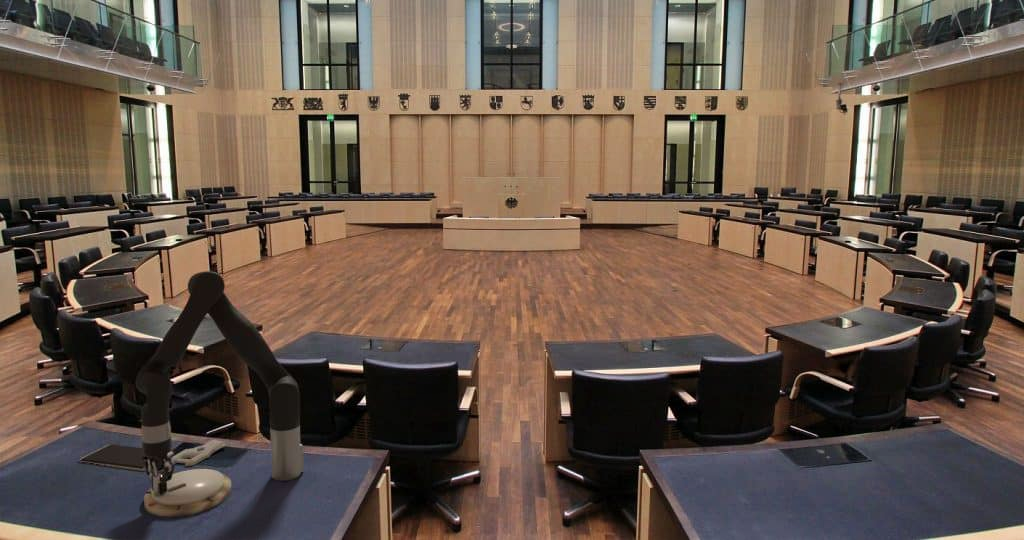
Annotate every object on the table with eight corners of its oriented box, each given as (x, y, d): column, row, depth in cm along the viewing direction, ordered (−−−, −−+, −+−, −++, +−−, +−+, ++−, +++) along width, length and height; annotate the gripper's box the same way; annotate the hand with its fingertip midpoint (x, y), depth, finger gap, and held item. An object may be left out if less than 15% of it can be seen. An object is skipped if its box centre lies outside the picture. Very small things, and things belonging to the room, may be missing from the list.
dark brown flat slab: (110, 447, 227) (109, 443, 227) (174, 455, 222) (174, 451, 221) (78, 463, 214) (77, 459, 214) (145, 472, 209) (145, 467, 208)
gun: (206, 434, 231) (228, 439, 227) (207, 443, 231) (229, 448, 228) (165, 457, 214) (188, 462, 211) (166, 466, 214) (189, 472, 211)
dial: (205, 467, 207) (204, 446, 206) (236, 487, 195) (235, 464, 194) (140, 490, 192) (138, 467, 191) (169, 513, 180) (168, 488, 178)
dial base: (203, 470, 210) (202, 463, 210) (247, 490, 198) (247, 483, 197) (128, 500, 190) (127, 492, 190) (172, 525, 177) (172, 517, 177)
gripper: (182, 438, 183) (185, 493, 186) (156, 426, 191) (159, 479, 193) (156, 447, 177) (160, 504, 180) (130, 435, 184) (134, 489, 187)
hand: (159, 491), depth 187 cm, fingers closed on dial, 3 cm apart
